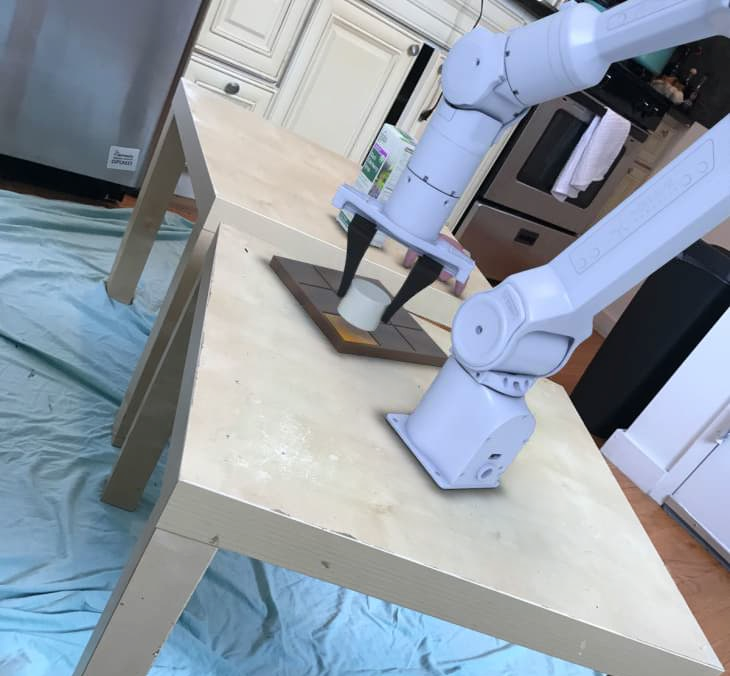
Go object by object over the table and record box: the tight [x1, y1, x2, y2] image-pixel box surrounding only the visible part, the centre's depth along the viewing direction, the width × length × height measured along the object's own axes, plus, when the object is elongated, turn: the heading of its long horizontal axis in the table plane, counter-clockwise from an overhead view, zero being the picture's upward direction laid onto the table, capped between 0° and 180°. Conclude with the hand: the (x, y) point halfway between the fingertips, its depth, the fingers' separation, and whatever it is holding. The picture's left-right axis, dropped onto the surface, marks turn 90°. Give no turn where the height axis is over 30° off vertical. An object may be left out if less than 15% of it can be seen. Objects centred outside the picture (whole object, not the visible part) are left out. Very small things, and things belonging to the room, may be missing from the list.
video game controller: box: [403, 232, 472, 296], centre depth 107 cm, size 10×5×7 cm, turn 84°
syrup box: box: [336, 122, 419, 249], centre depth 103 cm, size 6×6×14 cm
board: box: [269, 254, 449, 368], centre depth 83 cm, size 16×16×1 cm
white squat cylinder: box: [337, 278, 391, 331], centre depth 75 cm, size 4×4×3 cm
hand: (363, 306), depth 75 cm, fingers closed on white squat cylinder, 4 cm apart
